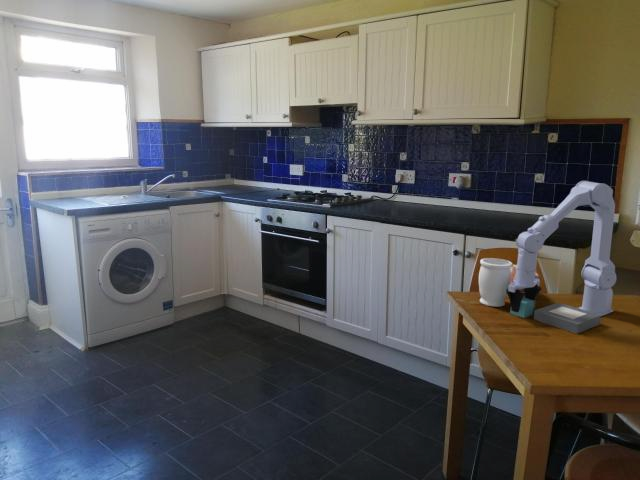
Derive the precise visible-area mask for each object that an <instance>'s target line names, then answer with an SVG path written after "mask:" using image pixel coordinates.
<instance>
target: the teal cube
mask: <svg viewBox="0 0 640 480" xmlns="http://www.w3.org/2000/svg"><path fill="white" fill-rule="evenodd" d="M533 307H534V300H530V299H527V298H524V297H523V298H522V301H521V304H520V309H519V312H514V311H512V310H511V308H510V310H509V314H511V315H513V316H516V315H517V317H519V316H520V318H522V317H523V318H522V319H526V318H527V317H530V315H531V316H534V309H533Z"/></svg>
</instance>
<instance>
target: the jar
mask: <svg viewBox="0 0 640 480" xmlns="http://www.w3.org/2000/svg"><path fill="white" fill-rule="evenodd" d="M479 263H480V268H479V273H478V287H479V288H478V290H479V294H480V299H479V302H480V303H481V304H482V305H484V306H488V307H494V308H495V307H497V308H499V307H503V306H505V304H506V301H505V299H506V298H507V296H508V294H507V292H506V289H508V288H509V285H510V281H511V271H510V267H511V266H513V262H511V261H510V260H507V259H503V258H502V259H501V258H496V257H495V258H494V257H485V258H481V259H480V261H479Z"/></svg>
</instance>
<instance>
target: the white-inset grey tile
mask: <svg viewBox="0 0 640 480" xmlns="http://www.w3.org/2000/svg"><path fill="white" fill-rule="evenodd" d="M533 320H535V321H538V322H540V323H544V324H547V325H550V326H552V327H555V328H558V329H561V330H564V331H567V332H571V333H573V334H576V335H578V334H580V333H583V332H584V331H587V330H590V329H591V328H594V327H597V326H599V325H601V320H602V316H601V315H599V314H596V313H592V312H589V311H586V310H582V309H579V307H575V306H572V305H568V304H565V303H562V302H555V303H553V304H549V305H547V306H544V307H542V308H541V307H540V308H538V309H534V310H533Z"/></svg>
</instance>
